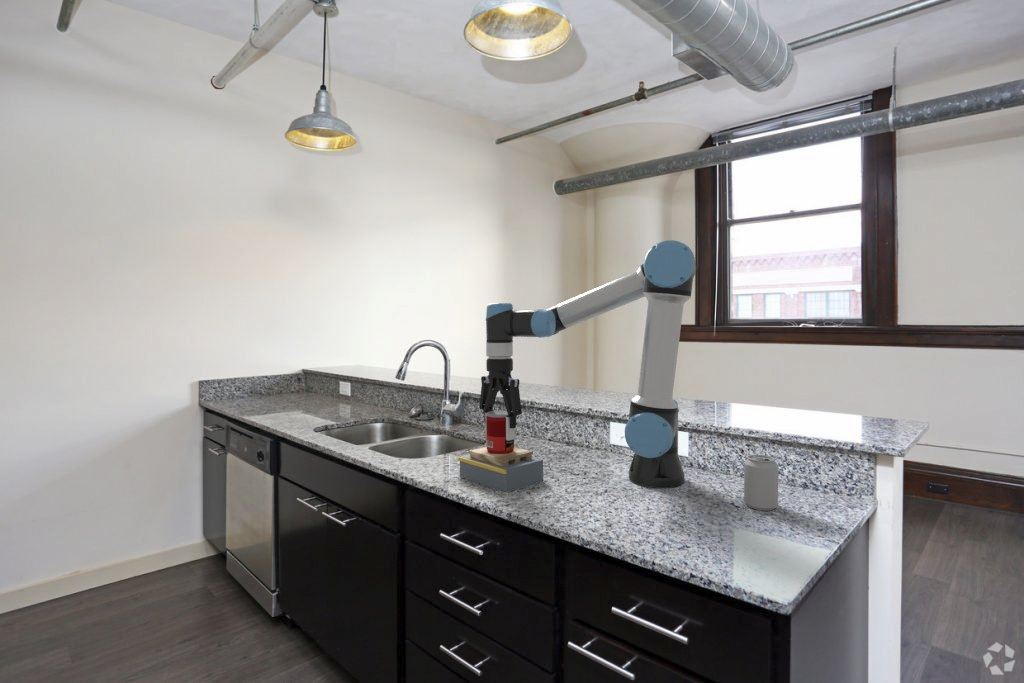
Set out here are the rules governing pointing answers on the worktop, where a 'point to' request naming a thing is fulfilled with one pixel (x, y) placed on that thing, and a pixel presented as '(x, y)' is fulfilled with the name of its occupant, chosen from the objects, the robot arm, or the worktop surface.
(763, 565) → the worktop surface
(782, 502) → the worktop surface
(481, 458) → the pallet
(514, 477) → the dock
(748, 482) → the can
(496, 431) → the canned food
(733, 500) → the worktop surface
